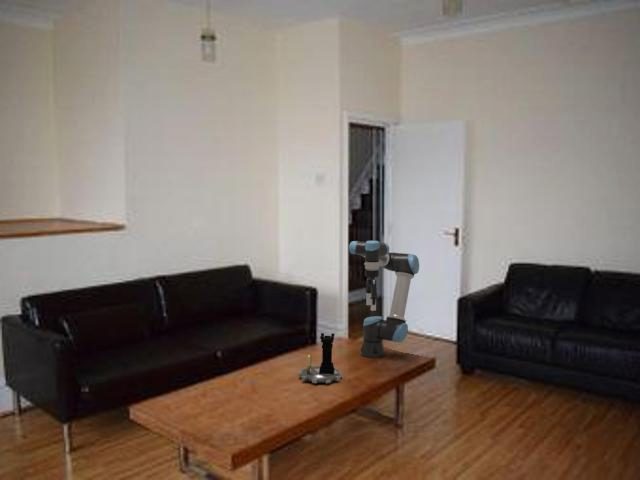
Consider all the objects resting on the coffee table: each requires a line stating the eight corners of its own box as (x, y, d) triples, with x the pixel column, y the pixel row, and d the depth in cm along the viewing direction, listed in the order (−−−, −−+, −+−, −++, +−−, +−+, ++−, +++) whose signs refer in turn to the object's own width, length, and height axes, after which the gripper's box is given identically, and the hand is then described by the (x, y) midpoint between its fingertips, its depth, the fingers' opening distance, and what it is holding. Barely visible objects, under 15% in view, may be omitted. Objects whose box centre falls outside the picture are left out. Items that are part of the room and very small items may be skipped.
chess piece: (334, 369, 313) (335, 333, 311) (333, 374, 305) (334, 337, 303) (319, 368, 314) (320, 332, 312) (318, 373, 306) (319, 336, 304)
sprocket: (293, 371, 316) (293, 350, 315) (331, 367, 324) (332, 346, 323) (307, 385, 295) (307, 362, 294) (348, 380, 303) (348, 358, 302)
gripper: (361, 265, 326) (360, 302, 328) (369, 273, 301) (368, 313, 303) (374, 265, 326) (373, 302, 329) (383, 273, 302) (382, 312, 304)
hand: (371, 307), depth 316 cm, fingers open, 13 cm apart
